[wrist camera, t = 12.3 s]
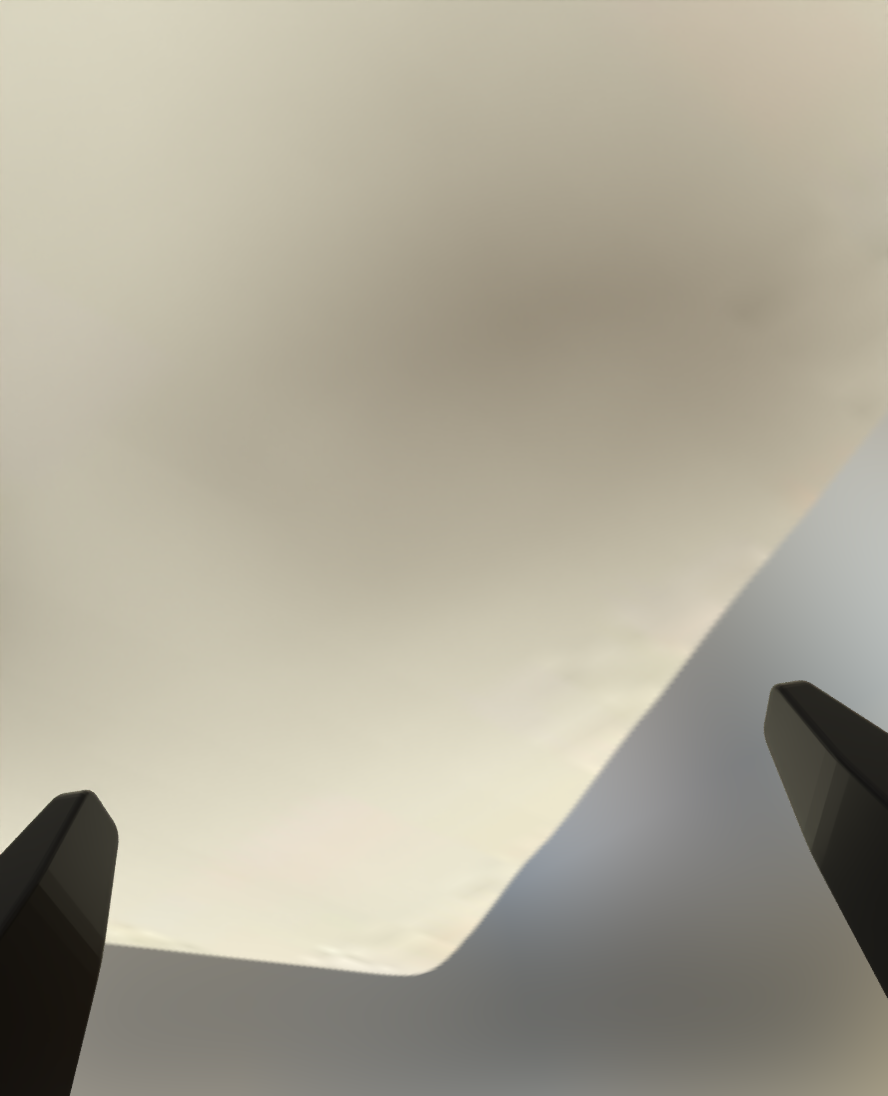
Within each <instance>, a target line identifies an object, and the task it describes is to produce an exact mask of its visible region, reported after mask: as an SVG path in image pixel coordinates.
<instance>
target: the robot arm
mask: <svg viewBox="0 0 888 1096" xmlns="http://www.w3.org/2000/svg"><path fill="white" fill-rule="evenodd" d="M764 735H765V740H766V743H767V746H768V748H769V751H770V753H771V756H772V758H773V761H774V763H775V766H776V768H777V771H778V773H779V776H780V778H781V781H782V783H783V786H784V788H785V791H786V793H787V796H788V798H789V801H790V803H791V806H792V808H793V811H794V813H795V816H796V818H797V821H798V823H799V826H800V828H801V831H802V833H803V836H804V838H805V840H806V843H807V845H808V847H809V850H810V852H811V854H812V856H813V858H814V860H815V862H816V864H817V866H818V868H819V870H820V872H821V874H822V876H823V878H824V879H825V881H826V883H827V885H828V887H829V889H830V891H831V893H832V895H833V896H834V898H835V900H836V902H837V904H838V906H839V908H840V910H841V911H842V913H843V915H844V917H845V919H846V921H847V923H848V925H849V927H850V928H851V930H852V932H853V934H854V936H855V938H856V940H857V942H858V943H859V945H860V947H861V949H862V951H863V953H864V955H865V957H866V959H867V961H868V962H869V964H870V966H871V968H872V970H873V972H874V974H875V976H876V977H877V979H878V981H879V983H880V985H881V987H882V989H883V991H884V993H885V994H886V996H887V998H888V733H887V732H885V731H883V730H882V729H881V728H879V727H878V726H876V725H874V724H873V723H871V722H870V721H868V720H867V719H865V718H864V717H862V716H861V715H859V714H858V713H856V712H854V711H853V710H851V709H850V708H848V707H847V706H845V705H844V704H842V703H841V702H839V701H838V700H836V699H834V698H833V697H831V696H830V695H828V694H827V693H825V692H824V691H822V690H821V689H819V688H818V687H816V686H814V685H813V684H811V683H809V682H807V681H803V680H801V681H800V680H799V681H792V682H785V683H779V684H776V685H774V686H773V688H772V689H771V691H770V695H769V701H768V706H767V711H766V717H765V722H764ZM117 850H118V831H117V828H116V825H115V823H114V821H113V820H112V818H111V817H110V815H109V814H108V812H107V811H106V809H105V808H104V806H103V805H102V803H101V801H100V800H99V798H98V797H97V795H96V794H95V793H94V792H92V791H90V790H82V791H75V792H69V793H64V794H60V795H58V796H57V797H55V798H54V799H53V800H52V801H51V802H50V803H49V804H48V805H47V806H46V807H45V808H44V809H43V810H42V811H41V812H40V813H39V814H38V816H37V817H36V818H35V819H34V820H33V821H32V822H31V823H30V824H29V825H28V826H27V827H26V828H25V829H24V830H23V831H22V832H21V834H20V835H19V836H18V837H17V838H16V839H15V840H14V841H13V842H12V843H11V844H10V845H9V846H8V847H7V848H6V849H5V850H4V852H3V853H2V854H1V855H0V1096H70V1093H71V1088H72V1084H73V1080H74V1076H75V1072H76V1067H77V1064H78V1060H79V1055H80V1051H81V1047H82V1043H83V1039H84V1035H85V1031H86V1026H87V1022H88V1018H89V1014H90V1010H91V1006H92V1002H93V998H94V994H95V989H96V985H97V981H98V976H99V972H100V967H101V963H102V958H103V951H104V945H105V939H106V931H107V924H108V917H109V909H110V902H111V894H112V887H113V880H114V872H115V865H116V857H117Z"/></svg>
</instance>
